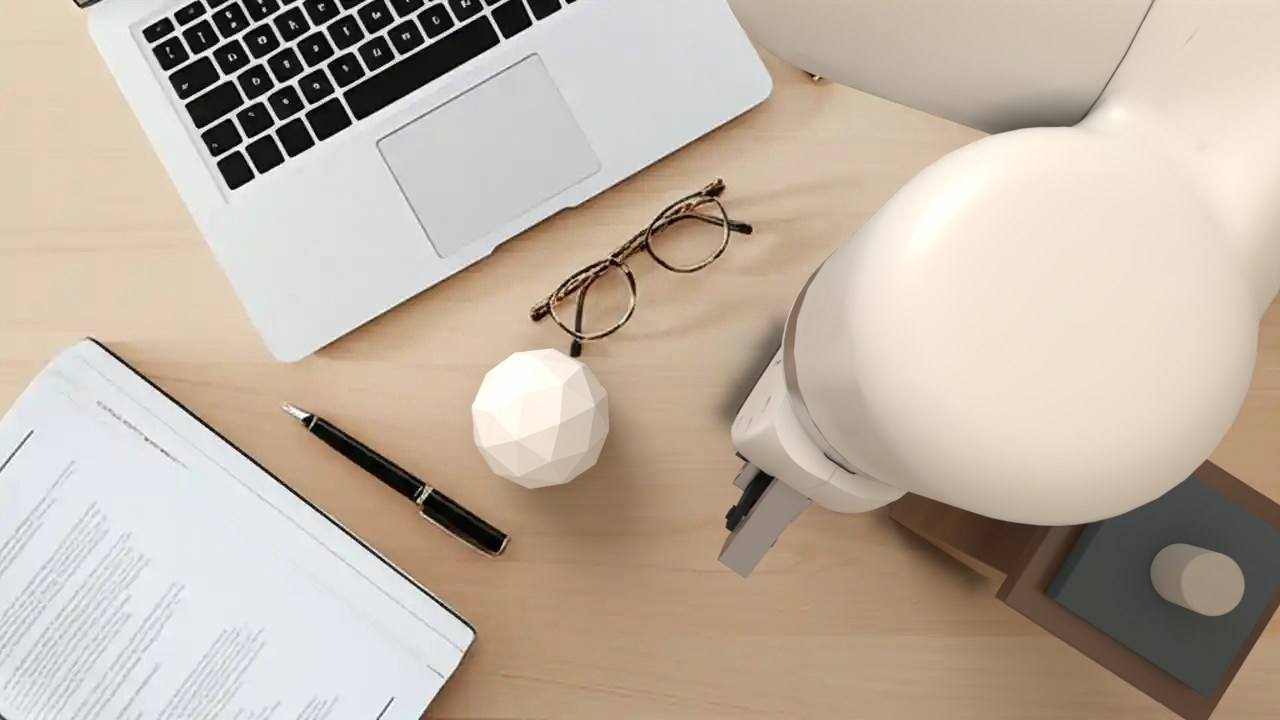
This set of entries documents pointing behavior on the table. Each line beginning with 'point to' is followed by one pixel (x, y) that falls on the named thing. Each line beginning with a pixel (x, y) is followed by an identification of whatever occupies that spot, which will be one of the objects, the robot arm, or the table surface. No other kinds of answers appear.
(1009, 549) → the stand
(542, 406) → the geometric ball
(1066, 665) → the table surface
